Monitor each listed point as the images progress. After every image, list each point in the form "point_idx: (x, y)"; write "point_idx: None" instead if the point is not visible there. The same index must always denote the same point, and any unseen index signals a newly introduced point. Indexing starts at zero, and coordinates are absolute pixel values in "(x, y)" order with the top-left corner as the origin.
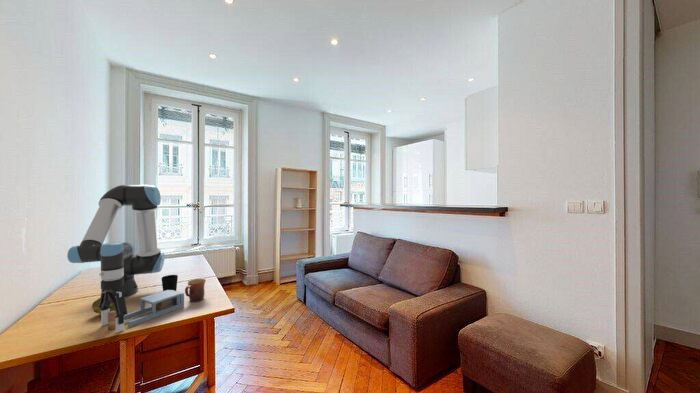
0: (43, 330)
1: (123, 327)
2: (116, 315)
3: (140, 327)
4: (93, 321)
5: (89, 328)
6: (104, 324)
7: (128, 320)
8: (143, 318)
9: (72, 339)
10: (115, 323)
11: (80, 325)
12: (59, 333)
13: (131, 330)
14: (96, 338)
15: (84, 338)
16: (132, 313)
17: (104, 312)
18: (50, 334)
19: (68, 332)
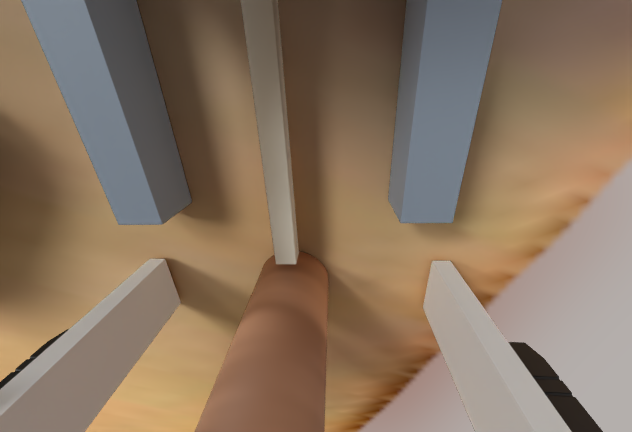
0: None
1: (462, 284)
2: (316, 397)
3: (573, 149)
4: (15, 290)
5: (155, 341)
6: (173, 294)
7: (290, 168)
8: (487, 26)
9: None
10: (325, 310)
11: None
12: (114, 408)
13: (528, 229)
14: (379, 375)
15: None
16: (104, 47)
17: (63, 425)
18: (97, 422)
19: (132, 393)
